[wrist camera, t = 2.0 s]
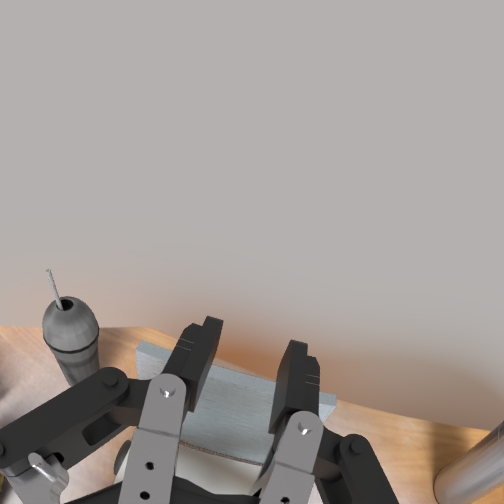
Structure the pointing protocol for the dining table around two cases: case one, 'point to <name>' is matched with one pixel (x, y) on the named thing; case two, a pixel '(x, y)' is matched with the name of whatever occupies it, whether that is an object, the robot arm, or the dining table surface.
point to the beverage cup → (71, 336)
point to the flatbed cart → (203, 470)
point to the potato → (1, 481)
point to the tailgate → (226, 408)
